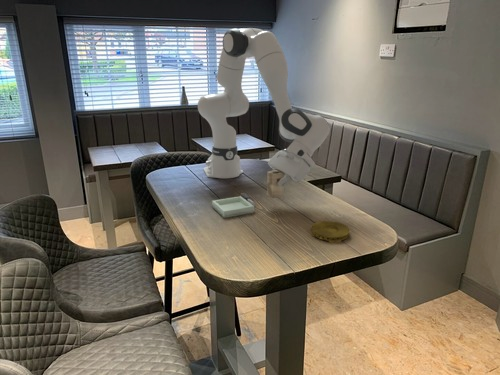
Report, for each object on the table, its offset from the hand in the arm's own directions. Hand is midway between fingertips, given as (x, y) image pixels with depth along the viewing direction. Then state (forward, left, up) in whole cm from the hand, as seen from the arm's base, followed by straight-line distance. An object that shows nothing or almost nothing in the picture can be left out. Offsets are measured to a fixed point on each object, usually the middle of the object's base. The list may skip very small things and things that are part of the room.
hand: (274, 182), depth 139 cm
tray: (-6, -14, -10) cm, 19 cm away
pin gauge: (-12, -5, -10) cm, 17 cm away
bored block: (0, +1, -5) cm, 5 cm away
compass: (+27, +6, -11) cm, 30 cm away
